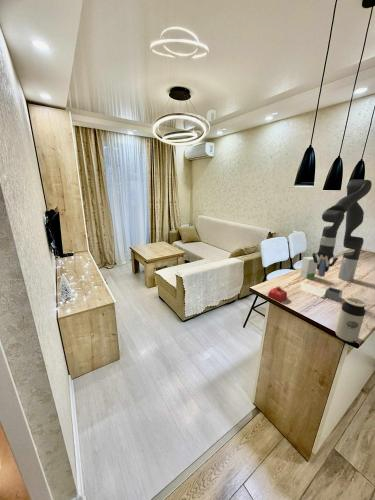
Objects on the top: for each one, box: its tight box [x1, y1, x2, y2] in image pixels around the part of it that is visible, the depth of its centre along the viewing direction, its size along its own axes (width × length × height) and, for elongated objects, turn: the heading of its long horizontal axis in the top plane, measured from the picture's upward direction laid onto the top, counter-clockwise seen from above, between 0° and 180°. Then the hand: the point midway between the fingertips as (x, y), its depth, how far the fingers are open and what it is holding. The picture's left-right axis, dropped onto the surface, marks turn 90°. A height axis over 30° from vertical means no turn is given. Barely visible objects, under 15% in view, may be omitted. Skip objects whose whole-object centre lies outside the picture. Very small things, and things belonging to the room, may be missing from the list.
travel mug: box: [335, 296, 367, 343], centre depth 92 cm, size 8×8×18 cm
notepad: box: [299, 281, 327, 300], centre depth 138 cm, size 14×18×1 cm
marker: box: [317, 257, 326, 277], centre depth 129 cm, size 4×4×13 cm
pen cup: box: [325, 286, 343, 302], centre depth 129 cm, size 7×7×5 cm
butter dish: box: [267, 286, 288, 303], centre depth 125 cm, size 12×12×8 cm
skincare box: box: [299, 256, 319, 279], centre depth 158 cm, size 8×7×16 cm
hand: (322, 270), depth 129 cm, fingers closed on marker, 3 cm apart
